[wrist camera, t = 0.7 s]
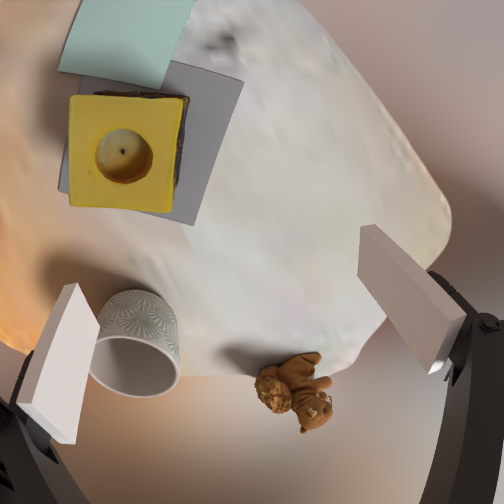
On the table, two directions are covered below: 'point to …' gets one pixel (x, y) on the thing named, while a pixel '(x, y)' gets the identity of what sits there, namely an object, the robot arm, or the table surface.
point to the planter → (136, 345)
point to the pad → (125, 39)
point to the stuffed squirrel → (296, 390)
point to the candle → (125, 149)
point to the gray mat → (196, 129)
